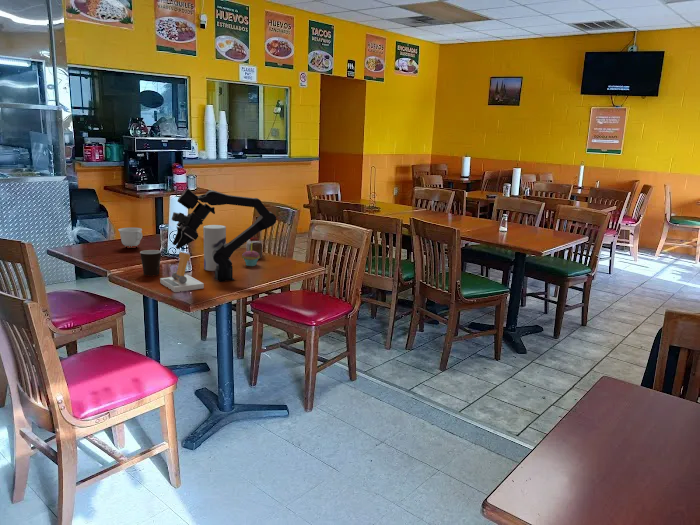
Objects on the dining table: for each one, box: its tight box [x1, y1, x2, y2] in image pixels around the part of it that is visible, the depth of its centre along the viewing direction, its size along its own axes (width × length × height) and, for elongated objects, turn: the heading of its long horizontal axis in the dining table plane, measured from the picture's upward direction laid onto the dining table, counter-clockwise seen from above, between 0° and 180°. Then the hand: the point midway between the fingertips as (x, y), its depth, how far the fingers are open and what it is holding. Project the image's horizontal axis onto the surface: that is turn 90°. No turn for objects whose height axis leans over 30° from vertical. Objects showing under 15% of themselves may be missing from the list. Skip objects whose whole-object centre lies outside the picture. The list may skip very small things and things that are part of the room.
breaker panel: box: [159, 271, 205, 293], centre depth 228 cm, size 12×16×5 cm
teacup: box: [117, 226, 144, 247], centre depth 293 cm, size 12×15×10 cm
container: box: [203, 224, 227, 272], centre depth 256 cm, size 10×10×20 cm
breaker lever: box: [176, 251, 191, 279], centre depth 227 cm, size 2×5×11 cm, turn 38°
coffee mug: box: [139, 249, 162, 277], centre depth 245 cm, size 12×9×10 cm
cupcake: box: [241, 242, 261, 267], centre depth 267 cm, size 9×8×12 cm
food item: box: [245, 236, 263, 259], centre depth 288 cm, size 14×8×10 cm, turn 20°
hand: (175, 246), depth 229 cm, fingers open, 9 cm apart
